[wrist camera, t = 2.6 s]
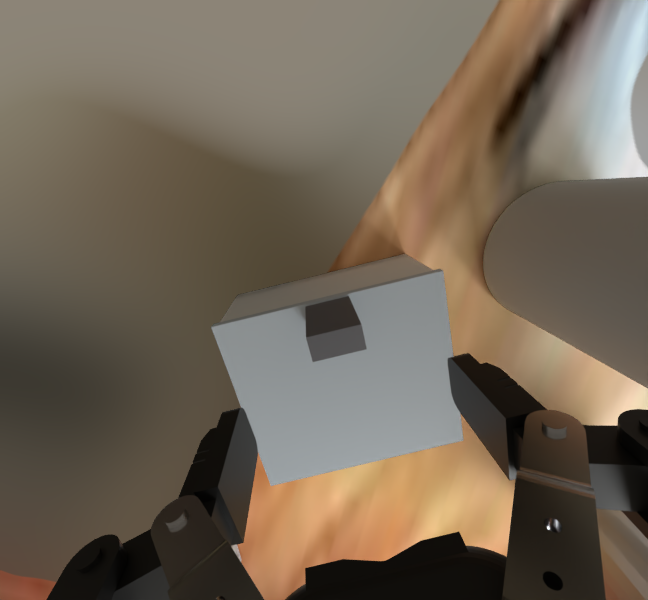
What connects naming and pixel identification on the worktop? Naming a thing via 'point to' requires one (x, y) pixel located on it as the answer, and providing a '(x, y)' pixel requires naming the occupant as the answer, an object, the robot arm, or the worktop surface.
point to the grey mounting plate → (345, 376)
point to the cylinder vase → (578, 267)
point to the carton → (324, 285)
